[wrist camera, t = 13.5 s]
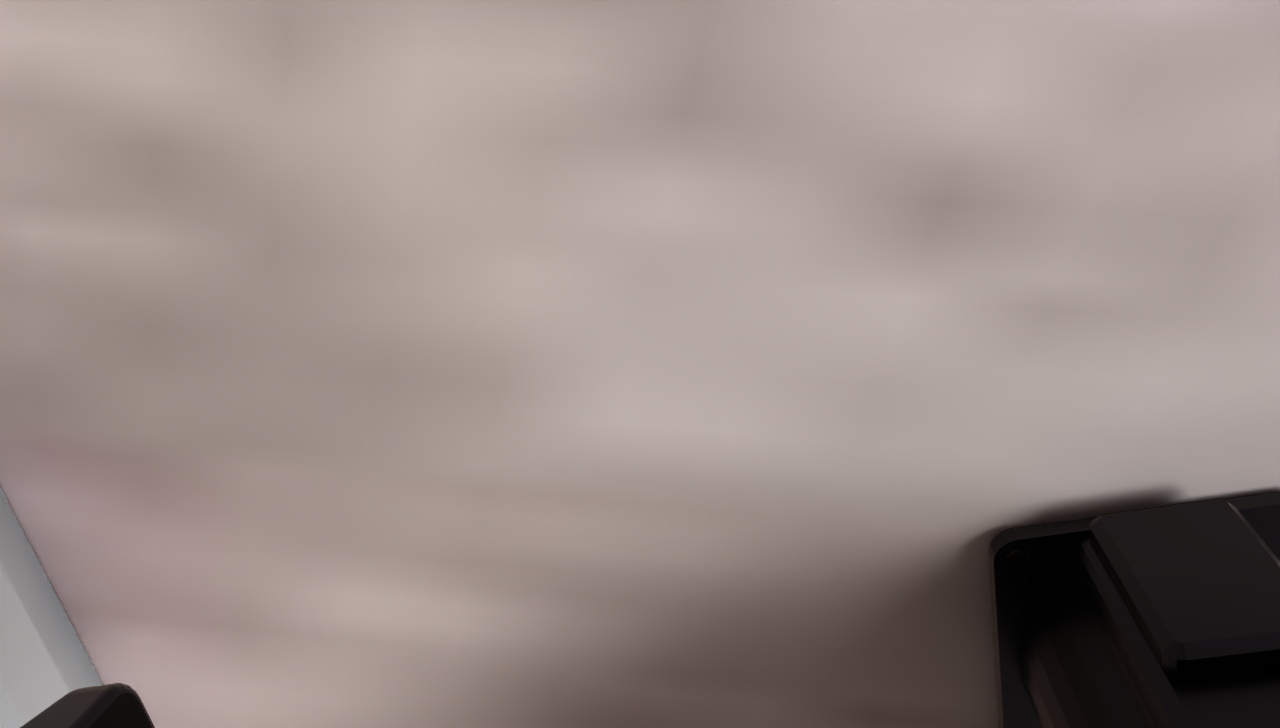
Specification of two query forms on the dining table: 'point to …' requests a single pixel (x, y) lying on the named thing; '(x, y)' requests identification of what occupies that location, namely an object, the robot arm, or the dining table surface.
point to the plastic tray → (33, 633)
